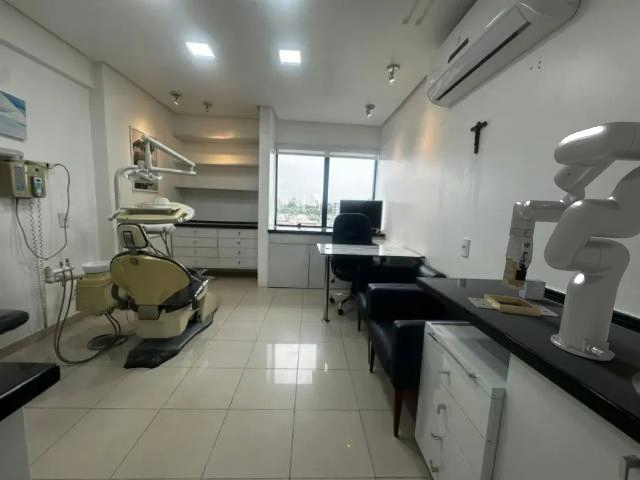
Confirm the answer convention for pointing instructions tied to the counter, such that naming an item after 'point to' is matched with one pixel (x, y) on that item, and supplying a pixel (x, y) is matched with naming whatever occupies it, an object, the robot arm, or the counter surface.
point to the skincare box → (512, 275)
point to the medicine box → (533, 289)
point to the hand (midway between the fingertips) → (514, 277)
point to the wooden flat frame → (526, 308)
